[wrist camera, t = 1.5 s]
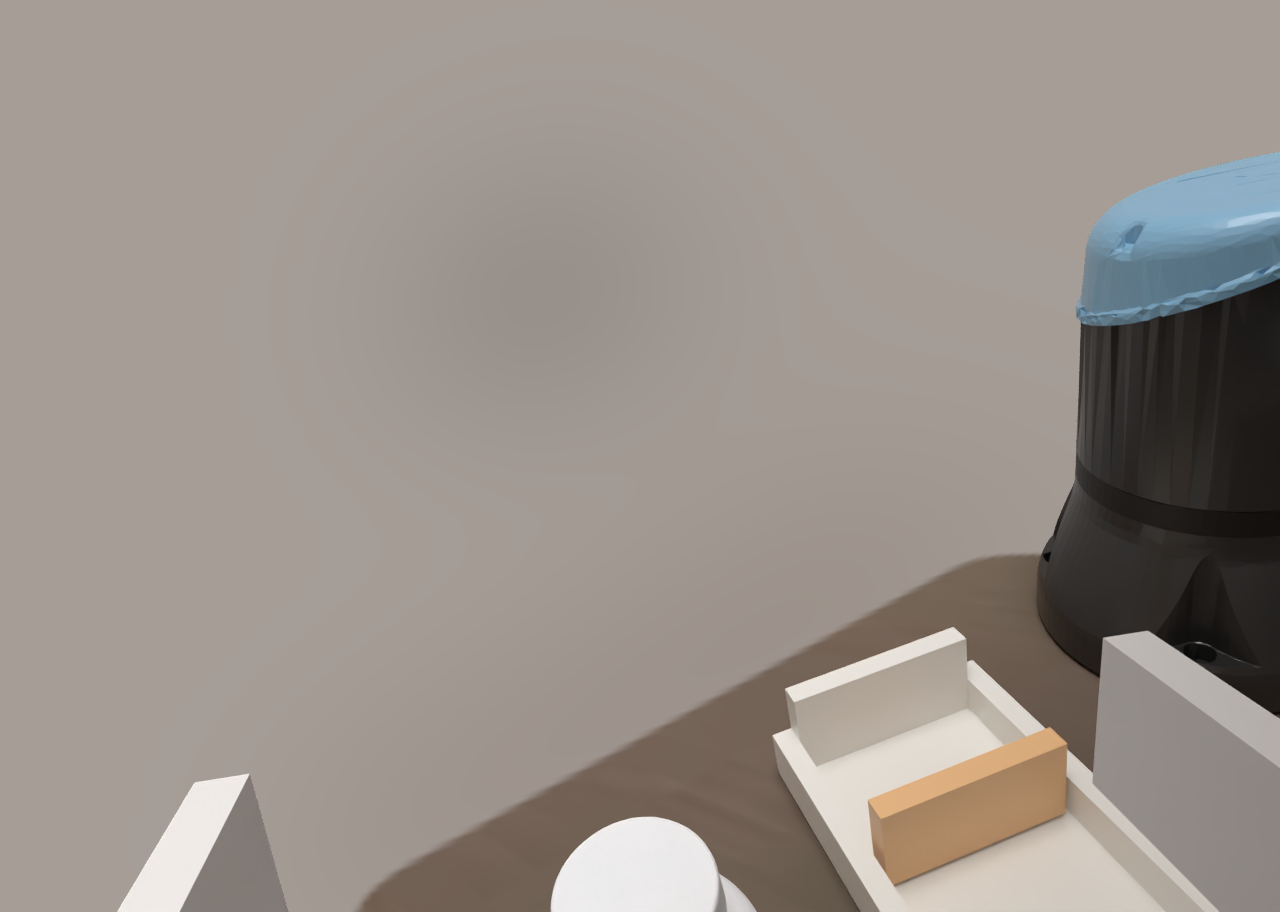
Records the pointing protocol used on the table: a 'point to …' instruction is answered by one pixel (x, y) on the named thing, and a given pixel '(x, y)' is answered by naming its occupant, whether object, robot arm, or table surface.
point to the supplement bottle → (645, 872)
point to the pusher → (969, 805)
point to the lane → (935, 740)
